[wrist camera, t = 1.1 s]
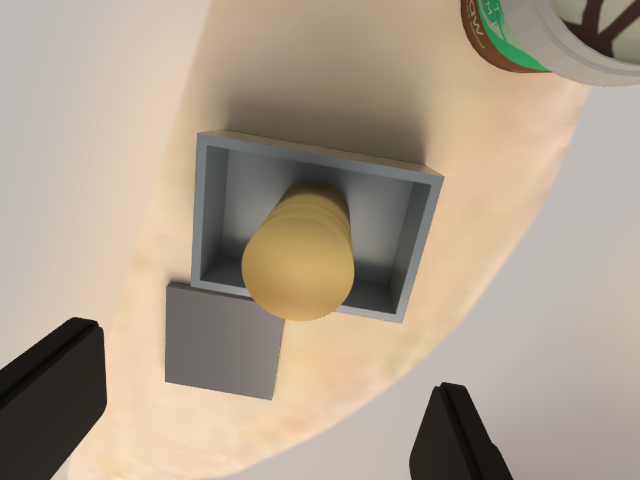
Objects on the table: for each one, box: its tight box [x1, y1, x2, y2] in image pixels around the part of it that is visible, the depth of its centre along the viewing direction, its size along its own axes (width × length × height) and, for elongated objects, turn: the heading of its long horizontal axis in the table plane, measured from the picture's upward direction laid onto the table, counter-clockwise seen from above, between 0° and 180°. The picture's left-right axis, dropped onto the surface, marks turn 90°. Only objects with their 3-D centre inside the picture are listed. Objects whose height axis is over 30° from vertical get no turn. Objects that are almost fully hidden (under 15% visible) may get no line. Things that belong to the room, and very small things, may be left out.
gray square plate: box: [165, 282, 285, 400], centre depth 31 cm, size 10×10×1 cm
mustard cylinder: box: [242, 180, 354, 321], centre depth 22 cm, size 6×6×10 cm
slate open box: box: [191, 130, 445, 324], centre depth 24 cm, size 10×15×5 cm
